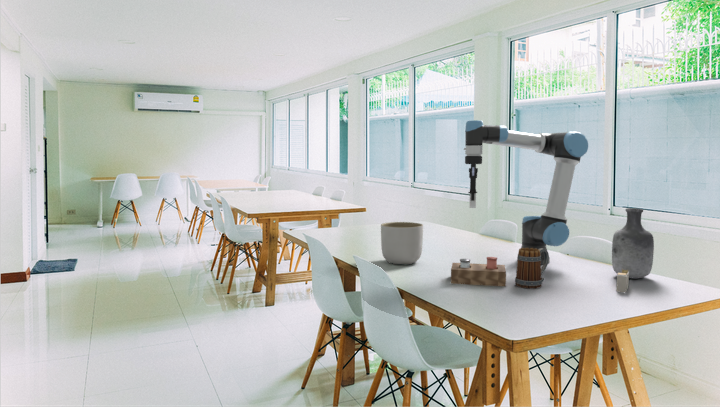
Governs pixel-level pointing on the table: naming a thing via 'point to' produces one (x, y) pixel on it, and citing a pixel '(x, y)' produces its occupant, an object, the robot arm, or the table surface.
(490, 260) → the plug red
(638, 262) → the vase
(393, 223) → the planter
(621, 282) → the model
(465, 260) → the plug grey
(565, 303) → the table surface
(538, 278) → the mug
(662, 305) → the table surface
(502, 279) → the socket block
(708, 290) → the table surface
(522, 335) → the table surface
